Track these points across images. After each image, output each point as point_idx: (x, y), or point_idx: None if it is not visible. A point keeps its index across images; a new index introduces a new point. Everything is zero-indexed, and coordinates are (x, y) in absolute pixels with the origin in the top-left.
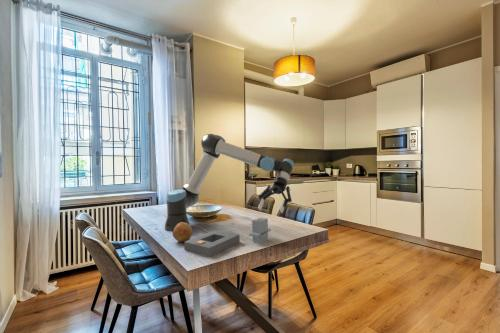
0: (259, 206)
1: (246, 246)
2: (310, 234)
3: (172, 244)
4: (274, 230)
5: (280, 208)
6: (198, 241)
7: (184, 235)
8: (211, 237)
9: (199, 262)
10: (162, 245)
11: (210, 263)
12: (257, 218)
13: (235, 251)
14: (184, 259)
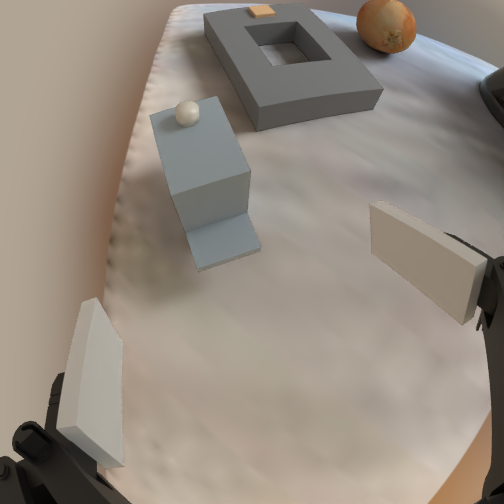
0: (381, 209)
1: None
2: None
3: None
4: (309, 402)
5: (89, 311)
6: (268, 8)
7: (357, 18)
8: (323, 58)
9: (193, 18)
10: None
11: (167, 28)
12: (188, 106)
13: (182, 83)
14: None
